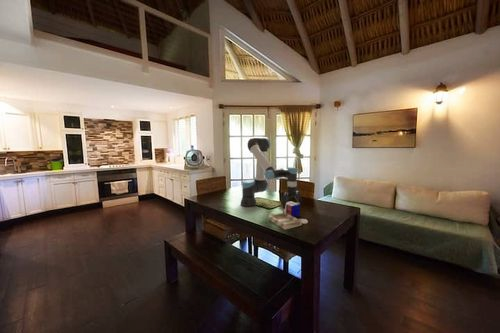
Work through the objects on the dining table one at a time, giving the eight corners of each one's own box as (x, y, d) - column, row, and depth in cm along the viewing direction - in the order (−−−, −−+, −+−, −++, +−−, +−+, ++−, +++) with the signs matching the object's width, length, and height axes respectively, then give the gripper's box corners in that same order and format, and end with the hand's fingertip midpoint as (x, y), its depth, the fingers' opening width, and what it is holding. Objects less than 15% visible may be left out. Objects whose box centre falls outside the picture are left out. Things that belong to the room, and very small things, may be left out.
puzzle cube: (291, 218, 167) (291, 206, 165) (282, 214, 175) (282, 203, 173) (299, 215, 173) (300, 204, 171) (290, 212, 181) (291, 201, 179)
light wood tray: (268, 219, 164) (268, 215, 164) (284, 216, 171) (284, 212, 171) (284, 229, 146) (284, 225, 146) (301, 225, 153) (301, 221, 153)
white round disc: (294, 220, 162) (294, 219, 162) (302, 218, 165) (302, 218, 165) (301, 224, 155) (301, 223, 155) (310, 222, 158) (310, 221, 158)
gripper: (282, 188, 162) (281, 215, 164) (306, 185, 173) (306, 210, 175) (276, 186, 168) (276, 212, 171) (300, 183, 180) (300, 207, 182)
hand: (291, 211), depth 173 cm, fingers open, 13 cm apart
